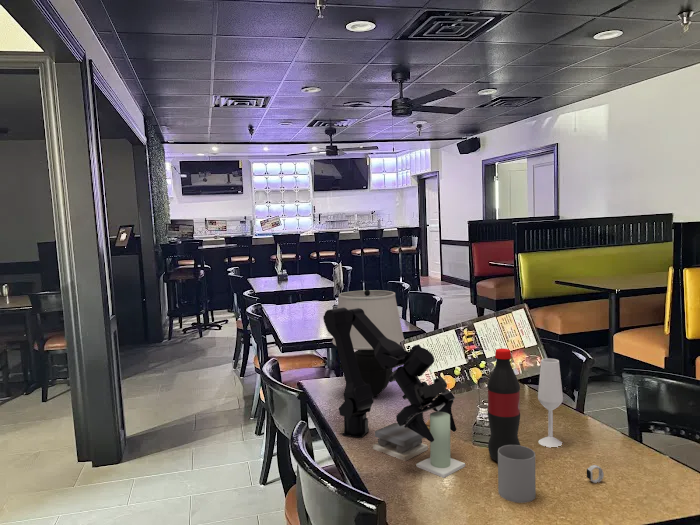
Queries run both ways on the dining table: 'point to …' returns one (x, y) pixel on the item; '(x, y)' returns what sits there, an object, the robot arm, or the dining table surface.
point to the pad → (441, 471)
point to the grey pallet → (399, 442)
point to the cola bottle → (503, 404)
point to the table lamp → (385, 318)
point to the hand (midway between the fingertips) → (444, 436)
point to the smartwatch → (590, 473)
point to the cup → (516, 473)
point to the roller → (440, 439)
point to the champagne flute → (550, 396)
